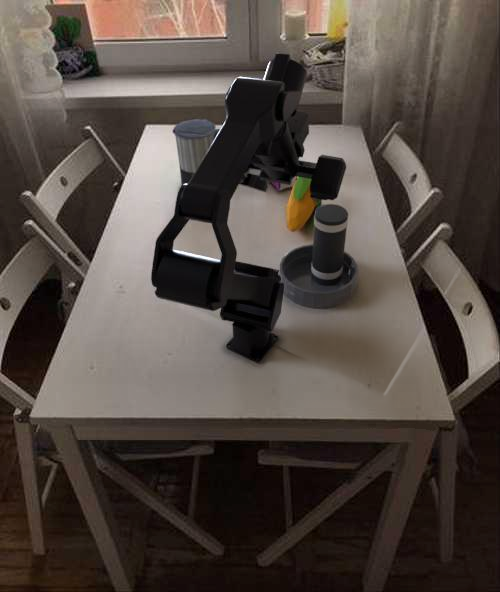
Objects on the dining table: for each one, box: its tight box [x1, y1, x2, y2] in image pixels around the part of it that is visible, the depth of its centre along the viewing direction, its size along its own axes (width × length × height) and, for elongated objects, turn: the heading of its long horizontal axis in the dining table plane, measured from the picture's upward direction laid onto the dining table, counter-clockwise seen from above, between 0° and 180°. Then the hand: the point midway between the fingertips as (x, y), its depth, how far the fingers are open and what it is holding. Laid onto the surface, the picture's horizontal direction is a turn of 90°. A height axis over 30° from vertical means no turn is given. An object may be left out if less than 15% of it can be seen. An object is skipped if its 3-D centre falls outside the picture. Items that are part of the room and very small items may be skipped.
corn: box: [285, 177, 323, 233], centre depth 119 cm, size 7×8×20 cm
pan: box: [279, 243, 359, 309], centre depth 103 cm, size 14×14×4 cm
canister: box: [311, 203, 349, 286], centre depth 101 cm, size 6×6×14 cm
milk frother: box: [172, 118, 221, 187], centre depth 129 cm, size 14×16×15 cm
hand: (291, 194), depth 95 cm, fingers open, 9 cm apart
